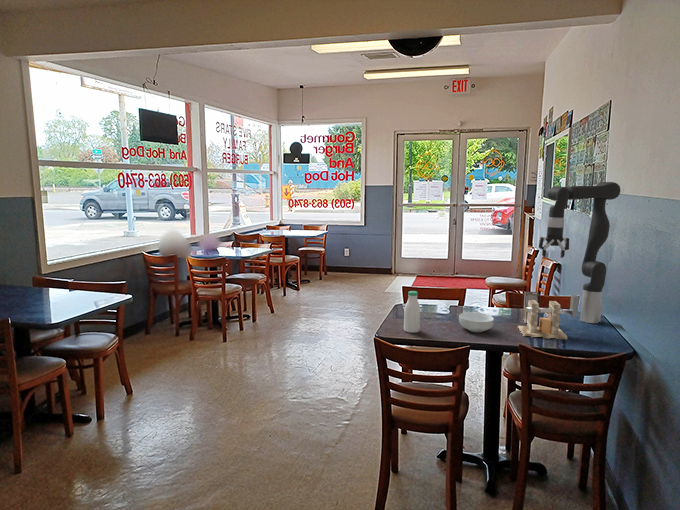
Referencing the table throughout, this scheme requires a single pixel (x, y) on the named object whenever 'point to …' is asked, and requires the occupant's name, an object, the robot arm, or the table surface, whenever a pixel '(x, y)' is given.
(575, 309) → the shaft
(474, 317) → the cereal bowl
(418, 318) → the milk bottle
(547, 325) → the spacer
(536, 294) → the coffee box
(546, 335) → the stand
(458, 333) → the table surface
